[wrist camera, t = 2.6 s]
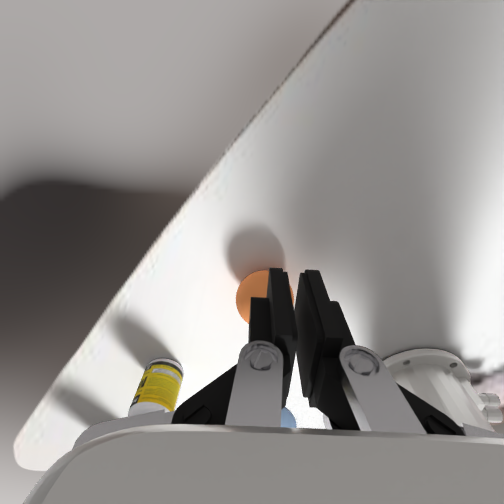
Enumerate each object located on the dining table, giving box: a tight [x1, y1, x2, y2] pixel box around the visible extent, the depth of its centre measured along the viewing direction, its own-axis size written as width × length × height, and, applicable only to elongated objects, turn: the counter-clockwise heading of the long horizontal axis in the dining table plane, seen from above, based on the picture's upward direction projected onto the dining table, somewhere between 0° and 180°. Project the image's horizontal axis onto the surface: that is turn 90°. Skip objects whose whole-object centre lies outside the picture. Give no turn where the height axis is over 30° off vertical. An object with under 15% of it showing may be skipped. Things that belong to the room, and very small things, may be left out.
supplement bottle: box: [128, 358, 184, 417], centre depth 33 cm, size 5×5×8 cm
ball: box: [236, 270, 294, 324], centre depth 28 cm, size 6×6×6 cm
